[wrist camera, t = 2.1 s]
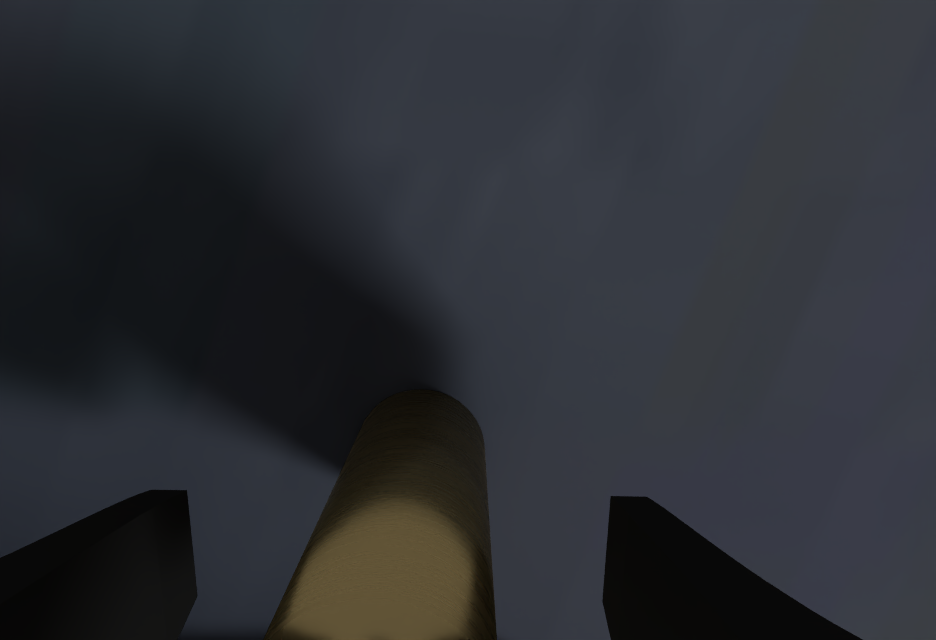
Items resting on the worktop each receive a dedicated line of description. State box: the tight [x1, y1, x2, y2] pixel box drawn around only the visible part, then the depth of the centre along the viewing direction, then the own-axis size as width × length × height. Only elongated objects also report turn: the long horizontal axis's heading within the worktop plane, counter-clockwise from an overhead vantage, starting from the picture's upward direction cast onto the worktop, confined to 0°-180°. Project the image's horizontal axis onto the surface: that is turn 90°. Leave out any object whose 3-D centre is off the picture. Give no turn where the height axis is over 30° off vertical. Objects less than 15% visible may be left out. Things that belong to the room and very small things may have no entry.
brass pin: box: [263, 389, 497, 640], centre depth 10 cm, size 3×3×7 cm
